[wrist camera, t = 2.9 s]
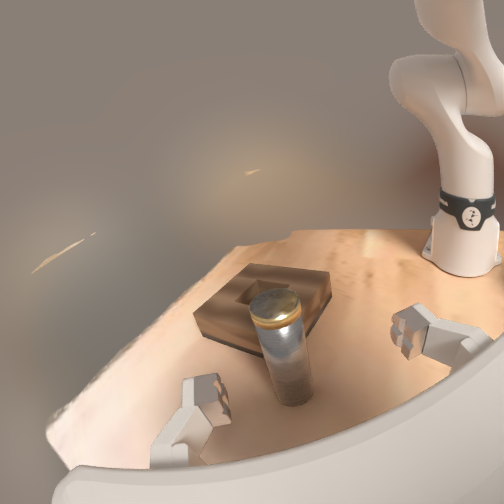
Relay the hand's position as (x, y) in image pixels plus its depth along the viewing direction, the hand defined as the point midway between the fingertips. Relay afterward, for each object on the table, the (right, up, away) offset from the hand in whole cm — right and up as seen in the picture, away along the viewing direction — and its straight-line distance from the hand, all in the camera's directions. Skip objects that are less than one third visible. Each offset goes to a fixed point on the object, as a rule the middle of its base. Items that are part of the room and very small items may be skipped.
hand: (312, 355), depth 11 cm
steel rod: (+3, -13, +19) cm, 23 cm away
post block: (0, -6, +33) cm, 34 cm away
